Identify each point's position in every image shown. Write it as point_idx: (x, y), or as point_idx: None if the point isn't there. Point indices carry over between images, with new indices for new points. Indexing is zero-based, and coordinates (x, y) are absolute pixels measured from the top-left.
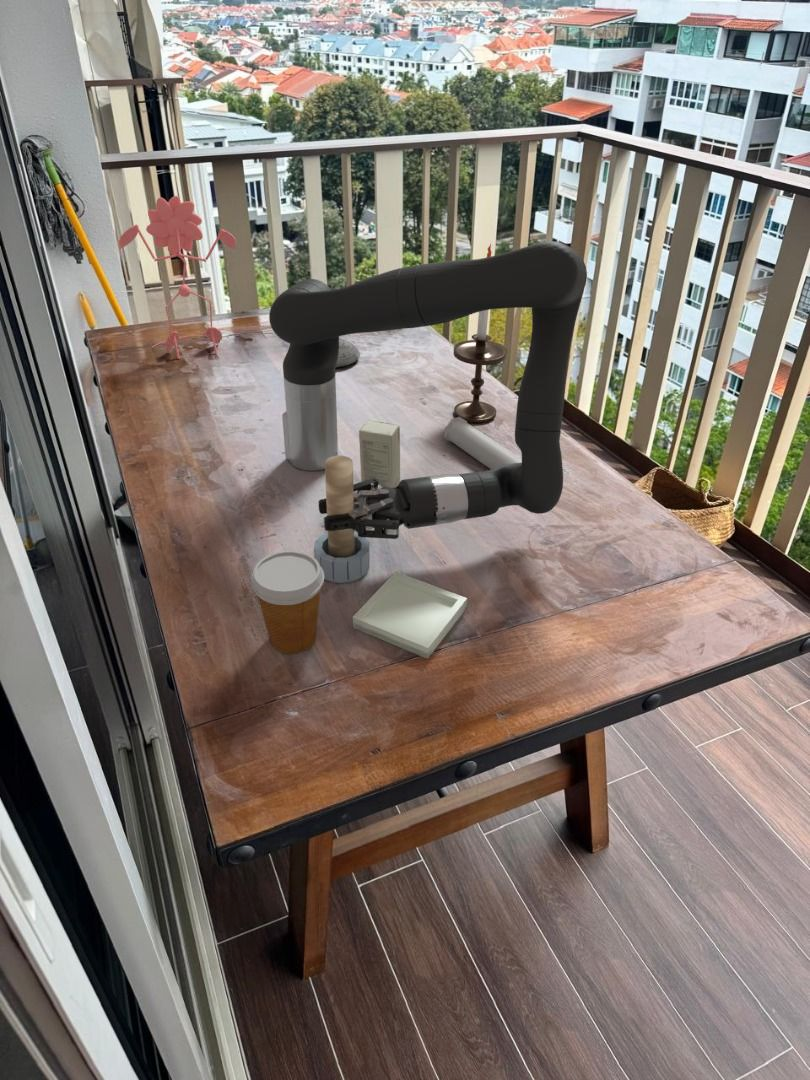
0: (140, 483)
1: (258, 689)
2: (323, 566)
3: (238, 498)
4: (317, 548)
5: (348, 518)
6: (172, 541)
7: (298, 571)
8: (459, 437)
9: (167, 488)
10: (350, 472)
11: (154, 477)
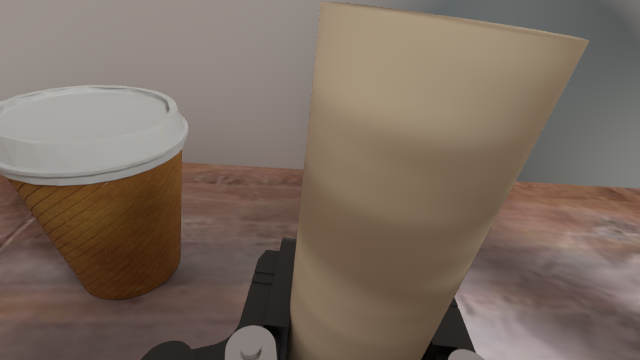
0: (569, 189)
1: None
2: None
3: (589, 281)
4: None
5: (262, 326)
6: None
7: (69, 122)
8: None
9: (571, 208)
10: (347, 87)
11: (593, 202)
